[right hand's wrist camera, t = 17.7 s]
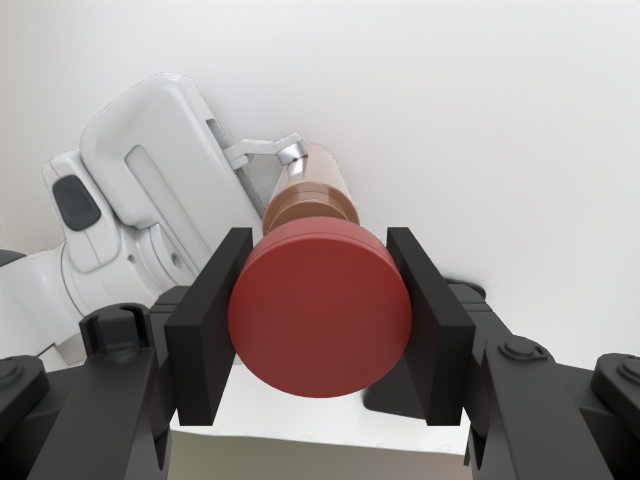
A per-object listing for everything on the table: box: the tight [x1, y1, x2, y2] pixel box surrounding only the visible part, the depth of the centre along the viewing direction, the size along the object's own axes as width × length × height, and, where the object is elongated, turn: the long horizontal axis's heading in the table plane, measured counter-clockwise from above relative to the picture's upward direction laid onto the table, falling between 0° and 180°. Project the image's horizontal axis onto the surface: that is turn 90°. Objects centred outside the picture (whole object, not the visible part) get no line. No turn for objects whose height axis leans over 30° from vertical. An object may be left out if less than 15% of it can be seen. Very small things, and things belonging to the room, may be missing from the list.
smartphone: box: [363, 278, 486, 420], centre depth 37 cm, size 8×1×16 cm
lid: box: [227, 216, 413, 398], centre depth 11 cm, size 5×5×2 cm
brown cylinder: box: [262, 144, 360, 237], centre depth 23 cm, size 4×4×17 cm
